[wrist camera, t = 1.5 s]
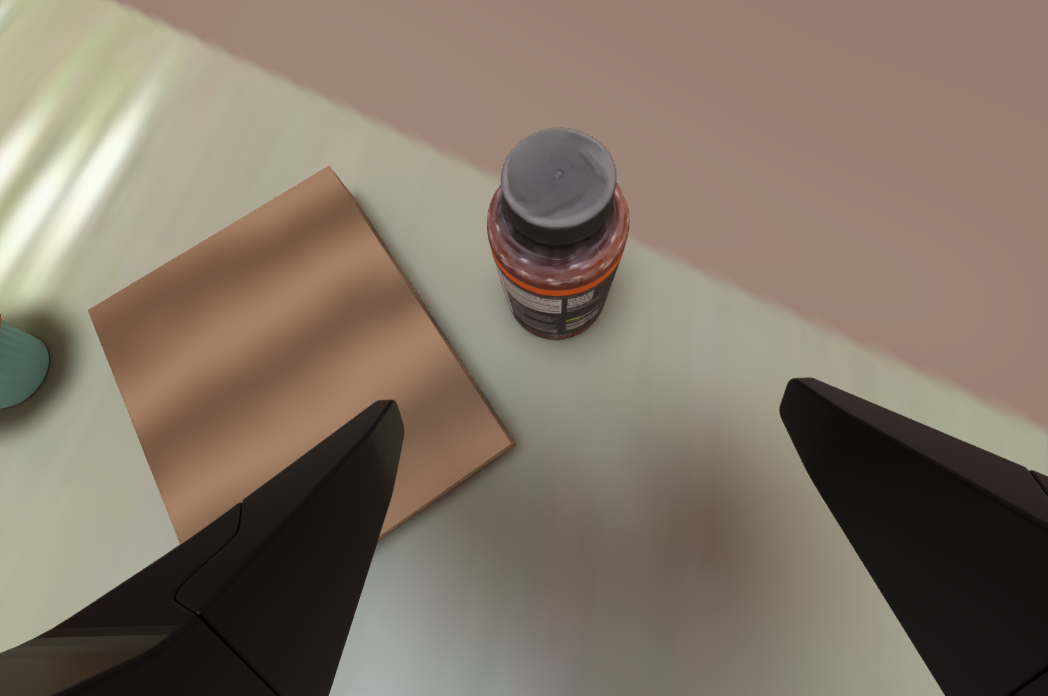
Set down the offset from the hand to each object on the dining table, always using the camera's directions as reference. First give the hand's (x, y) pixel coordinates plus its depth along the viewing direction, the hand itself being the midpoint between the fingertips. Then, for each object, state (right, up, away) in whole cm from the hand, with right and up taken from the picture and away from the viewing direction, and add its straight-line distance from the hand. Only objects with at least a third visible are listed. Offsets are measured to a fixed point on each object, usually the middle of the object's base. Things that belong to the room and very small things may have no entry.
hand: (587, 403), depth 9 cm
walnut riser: (-14, -1, +15) cm, 20 cm away
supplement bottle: (0, +4, +15) cm, 16 cm away
